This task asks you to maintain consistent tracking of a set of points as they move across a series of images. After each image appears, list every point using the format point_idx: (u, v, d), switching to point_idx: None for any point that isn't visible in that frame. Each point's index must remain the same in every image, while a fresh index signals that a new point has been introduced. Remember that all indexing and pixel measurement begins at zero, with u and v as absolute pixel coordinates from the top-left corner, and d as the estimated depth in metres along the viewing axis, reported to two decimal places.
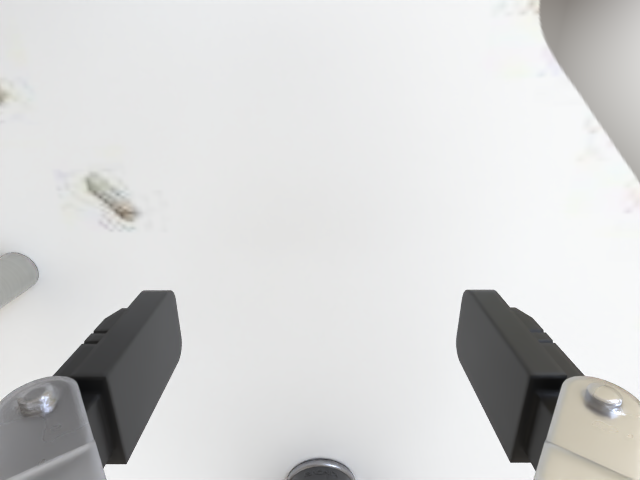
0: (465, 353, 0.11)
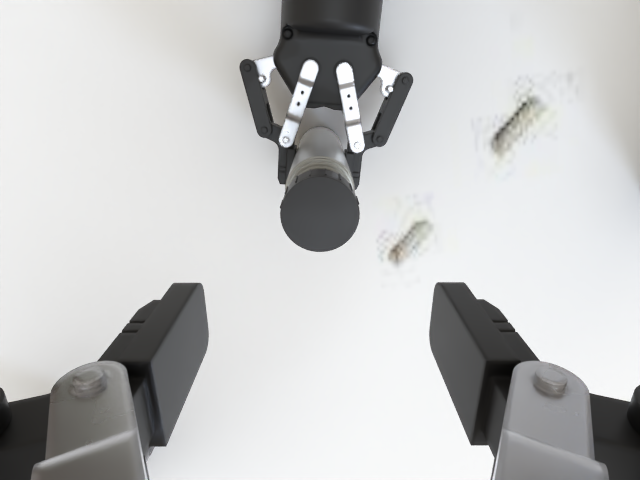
0: (436, 343, 0.11)
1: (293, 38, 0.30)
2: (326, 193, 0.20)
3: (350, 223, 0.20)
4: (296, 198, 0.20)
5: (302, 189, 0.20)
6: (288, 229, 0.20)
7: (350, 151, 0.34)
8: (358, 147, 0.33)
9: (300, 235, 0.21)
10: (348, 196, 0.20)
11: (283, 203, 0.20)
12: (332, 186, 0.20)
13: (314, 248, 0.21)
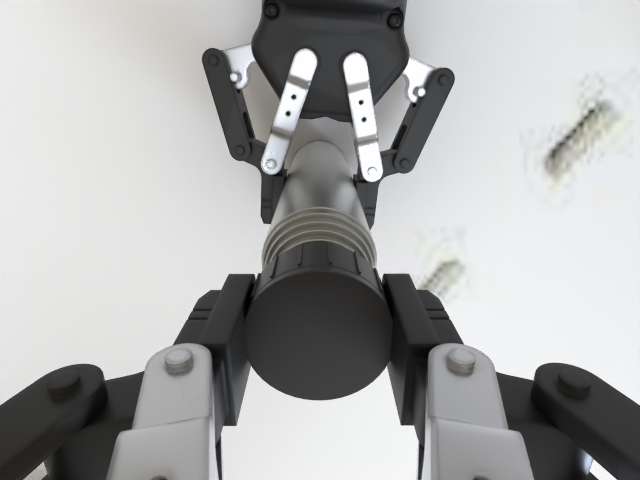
0: None
1: (280, 17, 0.21)
2: (331, 301, 0.10)
3: (377, 353, 0.11)
4: (273, 311, 0.10)
5: (284, 294, 0.10)
6: (258, 364, 0.11)
7: (362, 179, 0.24)
8: (374, 174, 0.23)
9: (281, 373, 0.11)
10: (375, 306, 0.10)
11: (247, 319, 0.10)
12: (343, 289, 0.10)
13: (308, 394, 0.11)
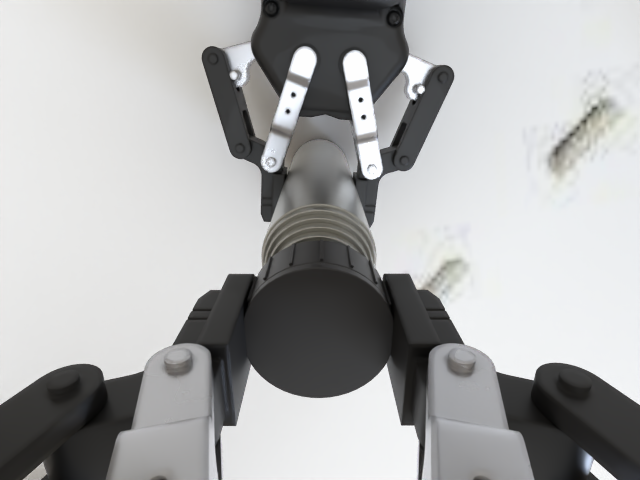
0: None
1: (279, 15, 0.21)
2: (278, 316, 0.10)
3: (352, 291, 0.10)
4: (275, 364, 0.11)
5: (260, 351, 0.11)
6: (327, 391, 0.11)
7: (362, 177, 0.24)
8: (373, 172, 0.23)
9: (346, 377, 0.11)
10: (296, 281, 0.10)
11: (277, 386, 0.11)
12: (267, 303, 0.10)
13: (380, 362, 0.11)
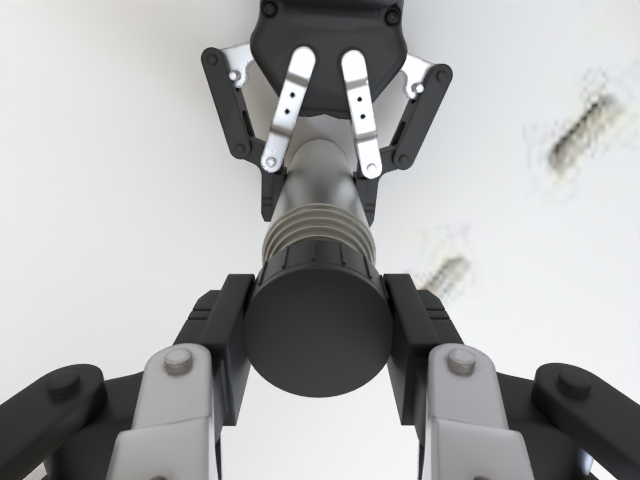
0: None
1: (278, 15, 0.21)
2: (284, 362, 0.11)
3: (275, 296, 0.10)
4: (336, 379, 0.11)
5: (317, 386, 0.11)
6: (385, 346, 0.10)
7: (361, 176, 0.24)
8: (373, 171, 0.23)
9: (373, 325, 0.10)
10: (252, 339, 0.10)
11: (361, 385, 0.11)
12: (268, 367, 0.11)
13: (367, 291, 0.10)
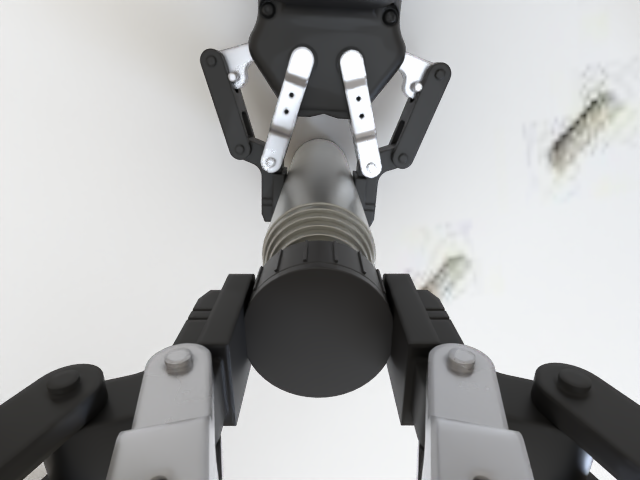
0: None
1: (276, 16, 0.21)
2: (336, 371, 0.11)
3: (263, 359, 0.11)
4: (373, 334, 0.10)
5: (376, 352, 0.11)
6: (348, 282, 0.10)
7: (361, 175, 0.24)
8: (373, 170, 0.23)
9: (320, 287, 0.10)
10: (302, 388, 0.11)
11: (389, 315, 0.10)
12: (336, 385, 0.11)
13: (279, 283, 0.10)
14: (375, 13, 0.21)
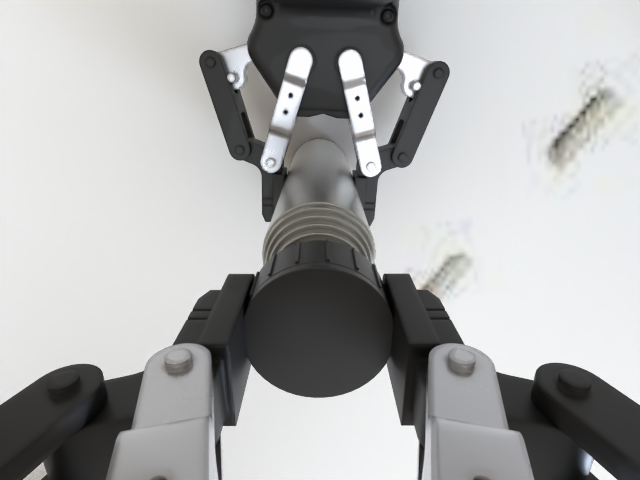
0: None
1: (274, 17, 0.21)
2: (364, 332, 0.10)
3: (327, 386, 0.11)
4: (331, 289, 0.10)
5: (353, 292, 0.10)
6: (264, 298, 0.10)
7: (361, 174, 0.24)
8: (372, 169, 0.23)
9: (264, 321, 0.10)
10: (373, 365, 0.11)
11: (312, 271, 0.10)
12: (381, 336, 0.10)
13: (251, 352, 0.11)
14: (373, 13, 0.21)
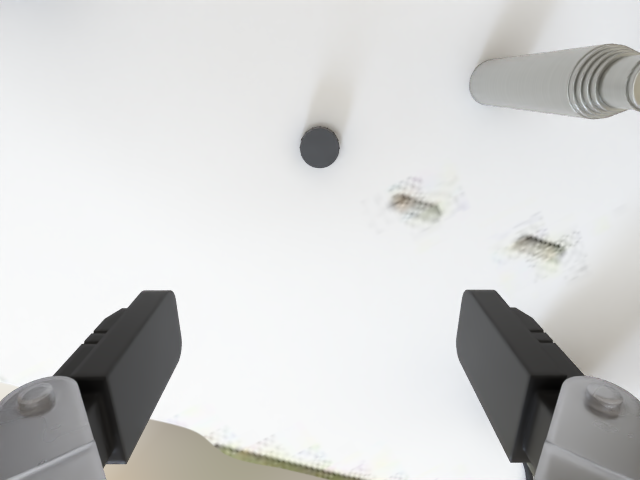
0: (465, 353, 0.11)
1: None
2: (321, 136, 0.41)
3: (335, 150, 0.41)
4: (307, 141, 0.41)
5: (309, 136, 0.41)
6: (305, 157, 0.41)
7: None
8: None
9: (311, 160, 0.41)
10: (332, 137, 0.41)
11: (301, 144, 0.41)
12: (323, 132, 0.40)
13: (319, 166, 0.42)
14: None
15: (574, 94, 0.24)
